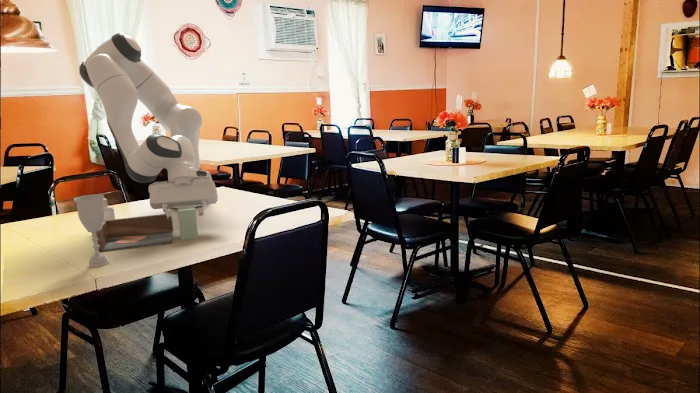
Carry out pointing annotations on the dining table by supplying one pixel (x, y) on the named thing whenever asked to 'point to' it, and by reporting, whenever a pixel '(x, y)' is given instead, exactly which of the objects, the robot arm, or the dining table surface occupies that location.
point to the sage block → (187, 223)
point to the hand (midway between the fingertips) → (185, 216)
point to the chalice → (92, 222)
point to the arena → (135, 232)
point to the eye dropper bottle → (108, 211)
